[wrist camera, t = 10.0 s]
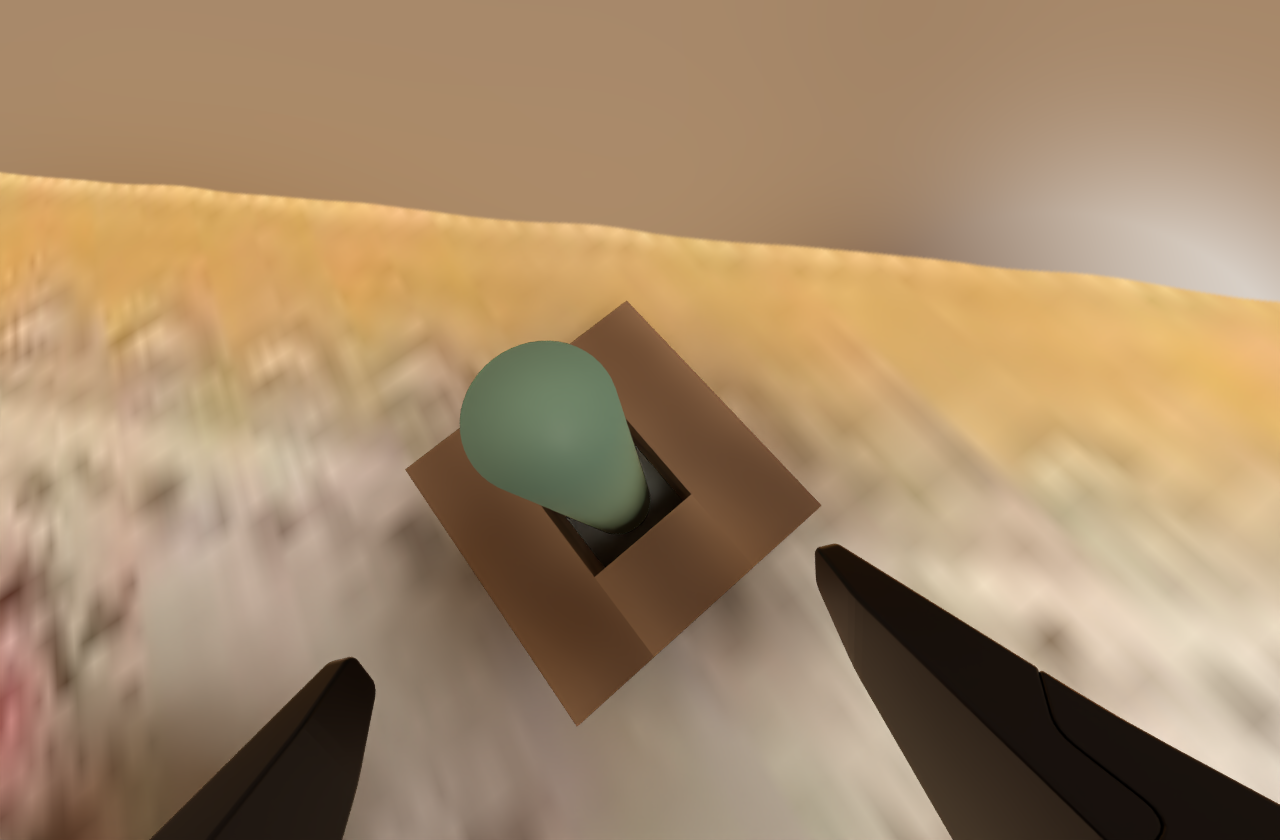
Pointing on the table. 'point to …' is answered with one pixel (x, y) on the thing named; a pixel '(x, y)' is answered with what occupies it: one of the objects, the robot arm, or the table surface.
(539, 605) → the hole block
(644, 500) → the peg
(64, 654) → the table surface
